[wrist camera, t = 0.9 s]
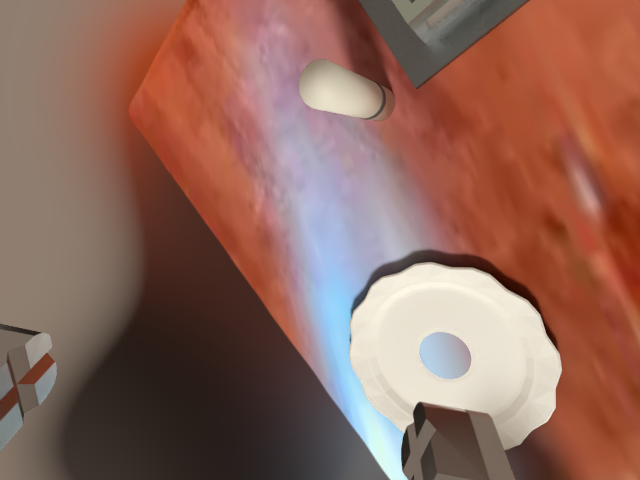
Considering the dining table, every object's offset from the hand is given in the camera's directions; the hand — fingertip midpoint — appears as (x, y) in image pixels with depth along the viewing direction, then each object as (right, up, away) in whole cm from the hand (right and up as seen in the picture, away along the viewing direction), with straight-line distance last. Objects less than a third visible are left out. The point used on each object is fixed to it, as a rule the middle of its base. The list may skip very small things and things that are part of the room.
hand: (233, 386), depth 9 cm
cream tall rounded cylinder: (+9, +20, +39) cm, 44 cm away
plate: (+18, -11, +42) cm, 47 cm away
